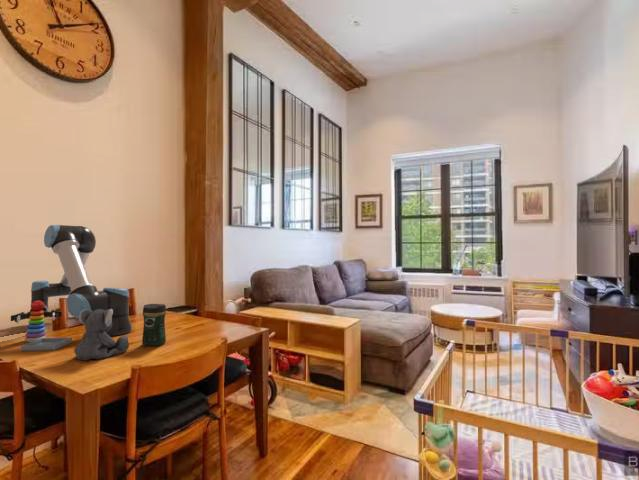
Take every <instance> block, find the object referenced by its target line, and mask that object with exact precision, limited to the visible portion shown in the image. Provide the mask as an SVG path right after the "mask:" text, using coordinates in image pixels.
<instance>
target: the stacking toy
mask: <svg viewBox="0 0 639 480" xmlns="http://www.w3.org/2000/svg"><path fill="white" fill-rule="evenodd" d="M43 308H44V303H43V302H42V301H39V300H38V301H34V302H33V303H32V304H31V303H30V309H32V310H33V311H31V312H30V311H29V312H30V314H31V316H30V317H29V319H28V320H29V321H28V325H27V326H26V327H27V329H26V333H25V338H24V342H26V343H30V342H33V341H35V340H38V339H40V338H47V335H46V333H47V332H46V327H45V325H46V324H45V321H46V320H45V319H44V315H43V314H44V311H42V309H43Z"/></svg>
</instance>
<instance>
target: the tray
mask: <svg viewBox="0 0 639 480" xmlns="http://www.w3.org/2000/svg"><path fill="white" fill-rule="evenodd" d="M71 343H73V337H46V338H40V339H38V340H35V341H33V342H27V343H25V344H23V345H21V349H20V350H21V352H36V351H37V352H38V351H39V352H41V351H42V352H46V351H50V352H51V351H53V352H54V351H56V350H58V349H60V348H63V347H64V346H68V345H69V344H71Z"/></svg>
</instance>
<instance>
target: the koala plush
mask: <svg viewBox="0 0 639 480" xmlns="http://www.w3.org/2000/svg"><path fill="white" fill-rule="evenodd" d="M112 314H113V309H108V310H106V311H105V310H102V309H97V310H95V311H93V312H92V311H91V310H89V309H85V310H83V311H81V312H80V316H79V318H78V320H79V323H81V324H82V325H84V329H85V332H84V333H83V335H82V337H81V340H80V343H78V344H77V345H76V346H75V347H74V349H73V352H74V354H75V357H76V359H78V360H79V361H90V360H92V359H93V360H102V359H107V358H109V357H111V356H115V355H120V354H123V353H124V352H126V351H127V350H128V349H129V348H130V344H129V343H130V342H129V338H128V336H126V335H125V334H123V335H120V337H119V338H117V339H116V340H114V339H113V337H112V336H109V335H108V334H107V333H108V332H109V331H110V329H111V328H112Z"/></svg>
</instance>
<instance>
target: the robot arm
mask: <svg viewBox="0 0 639 480" xmlns="http://www.w3.org/2000/svg"><path fill="white" fill-rule="evenodd" d="M96 241H97V240H96V237H95V234H94V233H93V231H92V230H91V229H89V228H88V227H86V226H82V225H62V224H51V225H49V226H48V227H47V229H46V230H45V232H44V236H43V243H44V246H45V247H46V248H51V250H52V252H53V253H54V254H56V255H57V256H58V258H59V262H60V263H61V267H62V269H63V276H61V277H62V278H61V279H60V281H59V282H57V283H54V282H53V283H50V282H49V281H48V280H35V281H33V282H32V283H31V289H30V291H31V293H30V294H31V298H30V299H31V301H30V305H31V304H32V303H33V302H34V301H38V300H39V301H42V302H43V303H44V308H43V309H42V311H44V314H43V315H44V318H52V321H55V319H56V318H62V317H63V312H62V311H61V310H60V311H59V310H55V309H51V310H50V311H49V298H53V297H62V296H63V297H64V296H68V297H67V298H66V309H67V312H68V313H69V314H70V316H72V317H74V318H75V319H79V316H80V312H81V311H83V310H85V309H89V310H91V311H92V312H93V311H95V310H97V309H102V310H105V311H106V310H108V309H113V314H112V328H111V329H110V331H109V332H108V333H107V334H108V335H109V336H110V337H114V336H123V335H126V334H129V333H131V332H132V331H133V326H132V323H131V320H130V317H129V309H130V307H129V303H130V291H129V290H128V289H127V288H124V287H123V288H121V287H103V289H102V290H98V289H97V286H96V285H94V284H92V283H91V280H90V278H89V275H88V273H87V271H86V267H85V264H86V263H87V260H88V259H89V256H90V254H91V253H93V252H94V250H95V248H96ZM31 311H33V310H32V309H31V308H30V310H29V311H27V312H26V313H25V311H24V312H23V311H22V312H20V313H19V312H18V313H16V314H12V315H10V321H11V322H14V323H16V324H20V323H21V321H23V320H27V319H28V320H30V319H29V317H30V316H31V314H30V312H31ZM44 318H43V319H44Z"/></svg>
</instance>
